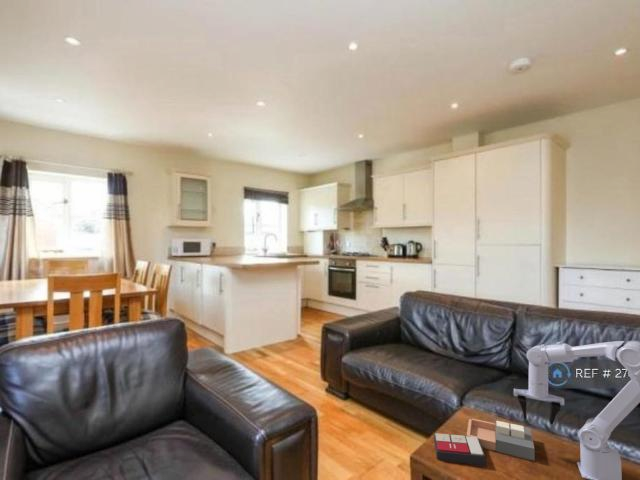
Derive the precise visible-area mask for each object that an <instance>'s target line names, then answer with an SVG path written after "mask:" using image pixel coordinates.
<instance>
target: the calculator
mask: <svg viewBox="0 0 640 480" xmlns="http://www.w3.org/2000/svg"><path fill="white" fill-rule="evenodd" d="M433 439H434V441H433V442H434V448H435V449H434V450H435V454H436V460H438V461H444V462H450V463H456V464H458V463H459V464H467V465H471V464H472V465H471V466H477V467H485V468H486V467H487V460H486V454H485V451H484V448H482V446H481V444H480V441H479V439H478V438H477V437H468V436H467V435H466V436H465V435H461V434H459V435H458V434H449V433H434V434H433Z"/></svg>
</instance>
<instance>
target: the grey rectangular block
mask: <svg viewBox="0 0 640 480" xmlns="http://www.w3.org/2000/svg"><path fill="white" fill-rule="evenodd" d="M510 424H511V423H509V435H504V434H500V433H497V425H496V424H495V438H496V451H495V452H498V453H501V454H505V455H509V456H513V457H516V458H521V459H525V460H530V461H534V462H535V461H536V460H535V459H536V457H535V456H536V455H535V454H536V452H535V445H534V444H535V443H534V441H533V435H532V430H531V427H526V426H523V427H524V439H522V438H518V437H513V436H511V428H510Z"/></svg>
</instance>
